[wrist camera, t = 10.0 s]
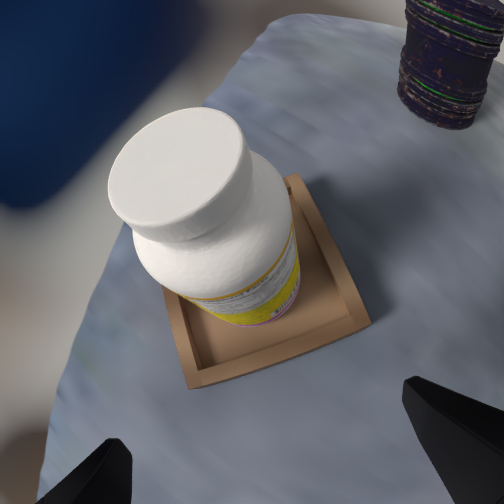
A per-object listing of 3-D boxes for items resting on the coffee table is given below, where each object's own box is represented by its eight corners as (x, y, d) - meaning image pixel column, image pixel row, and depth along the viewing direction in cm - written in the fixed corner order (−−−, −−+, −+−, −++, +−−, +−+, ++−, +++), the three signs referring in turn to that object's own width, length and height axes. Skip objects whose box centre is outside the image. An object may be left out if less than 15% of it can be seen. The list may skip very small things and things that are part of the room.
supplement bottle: (202, 245, 22) (102, 122, 10) (291, 227, 21) (260, 71, 9) (209, 336, 19) (71, 276, 8) (309, 320, 18) (302, 228, 7)
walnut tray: (365, 328, 18) (371, 323, 16) (200, 388, 19) (188, 389, 17) (299, 188, 24) (298, 172, 22) (164, 243, 24) (151, 232, 22)
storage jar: (482, 107, 24) (513, 6, 10) (460, 145, 22) (505, 18, 9) (415, 67, 28) (425, -33, 14) (380, 96, 26) (387, -30, 13)
